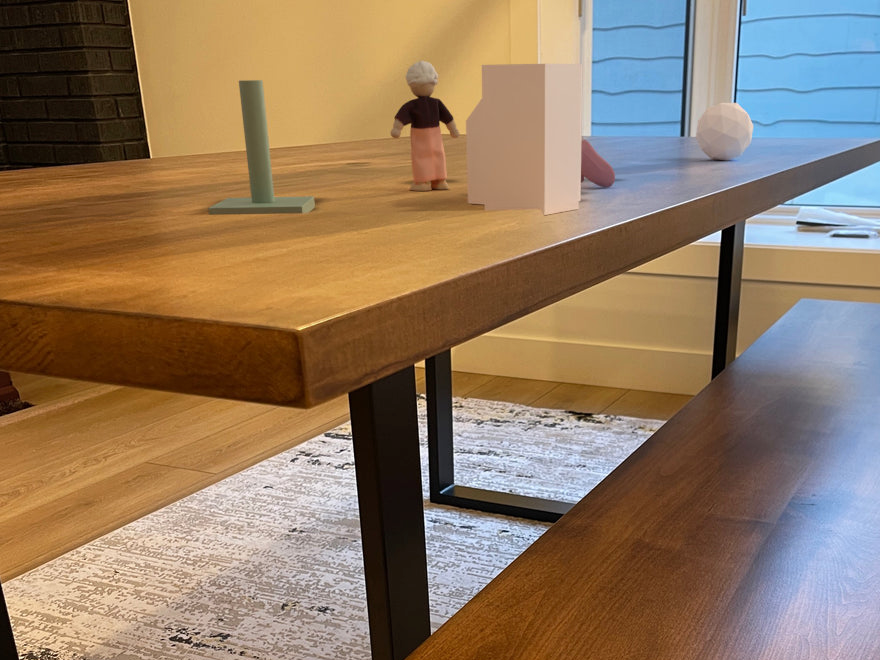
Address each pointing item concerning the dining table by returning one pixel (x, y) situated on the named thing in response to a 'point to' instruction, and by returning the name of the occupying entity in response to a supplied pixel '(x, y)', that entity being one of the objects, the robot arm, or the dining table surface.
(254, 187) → the green peg stand
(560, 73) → the white angular block
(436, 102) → the grandmother figurine
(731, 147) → the geometric ball
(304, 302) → the dining table surface
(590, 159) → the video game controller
